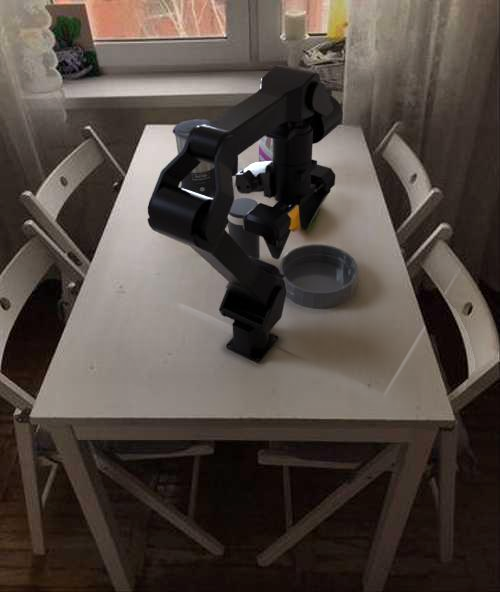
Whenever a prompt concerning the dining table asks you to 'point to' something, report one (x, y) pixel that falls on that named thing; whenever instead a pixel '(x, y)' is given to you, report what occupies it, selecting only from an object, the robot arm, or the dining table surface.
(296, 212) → the corn
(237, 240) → the canister
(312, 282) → the pan
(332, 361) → the dining table surface
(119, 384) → the dining table surface
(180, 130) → the milk frother
